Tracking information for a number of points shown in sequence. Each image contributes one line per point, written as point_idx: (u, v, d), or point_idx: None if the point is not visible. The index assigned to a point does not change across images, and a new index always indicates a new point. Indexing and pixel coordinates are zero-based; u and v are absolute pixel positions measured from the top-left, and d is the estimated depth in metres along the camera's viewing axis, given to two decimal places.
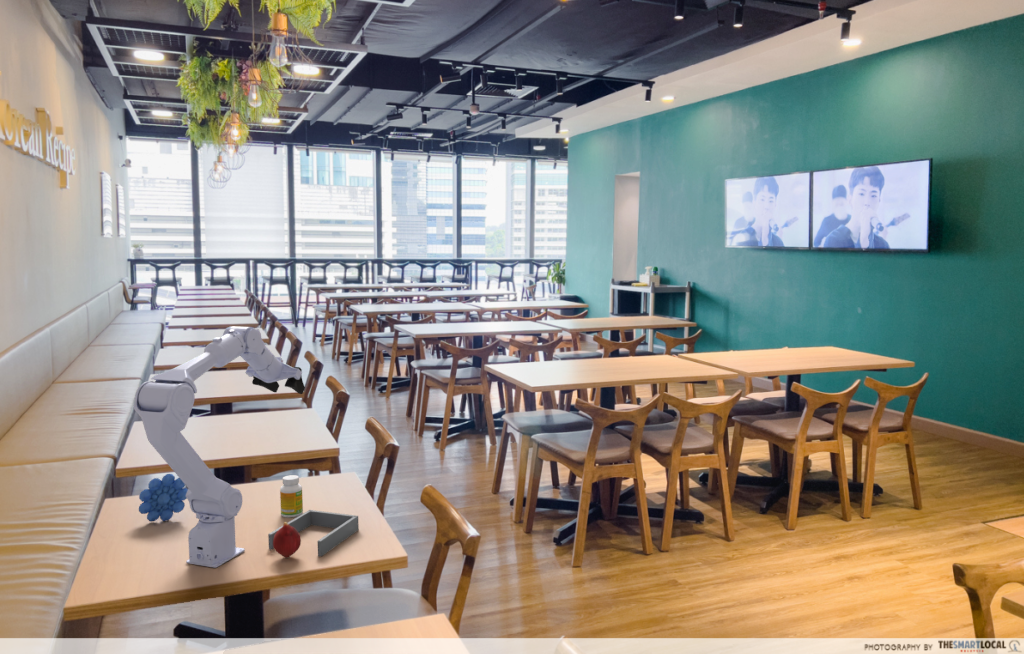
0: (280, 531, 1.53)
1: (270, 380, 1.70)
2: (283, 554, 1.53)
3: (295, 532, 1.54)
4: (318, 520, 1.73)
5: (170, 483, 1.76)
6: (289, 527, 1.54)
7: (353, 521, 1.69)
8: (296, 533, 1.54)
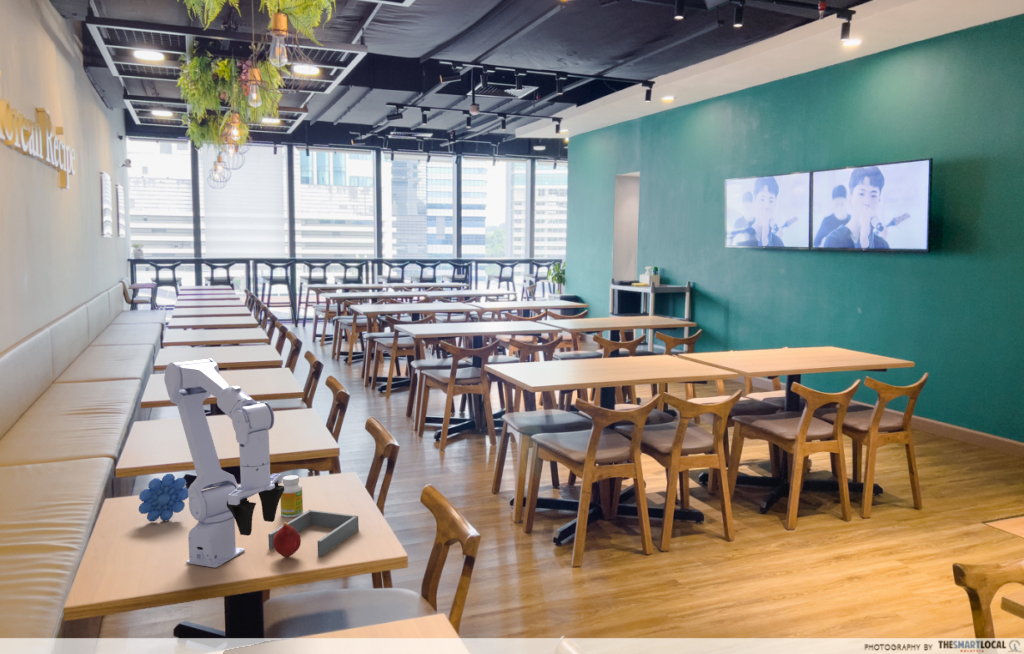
0: (280, 531, 1.53)
1: None
2: (283, 554, 1.53)
3: (295, 532, 1.54)
4: (318, 520, 1.73)
5: (170, 483, 1.76)
6: (289, 527, 1.54)
7: (353, 521, 1.69)
8: (296, 533, 1.54)
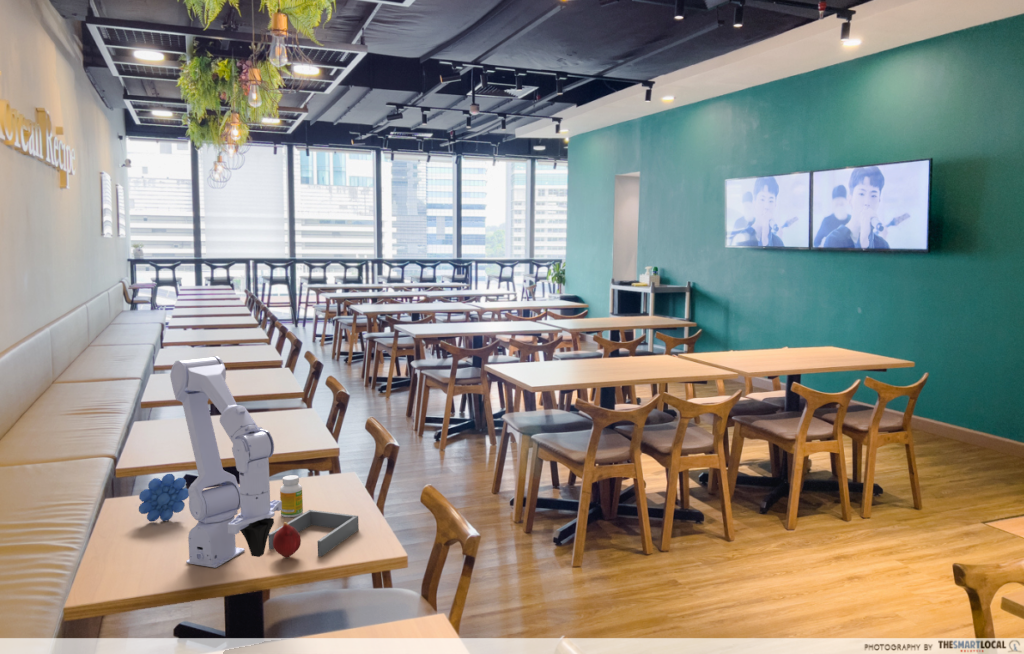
0: (280, 531, 1.53)
1: None
2: (283, 554, 1.53)
3: (295, 532, 1.54)
4: (318, 520, 1.73)
5: (170, 483, 1.76)
6: (289, 527, 1.54)
7: (353, 521, 1.69)
8: (296, 533, 1.54)
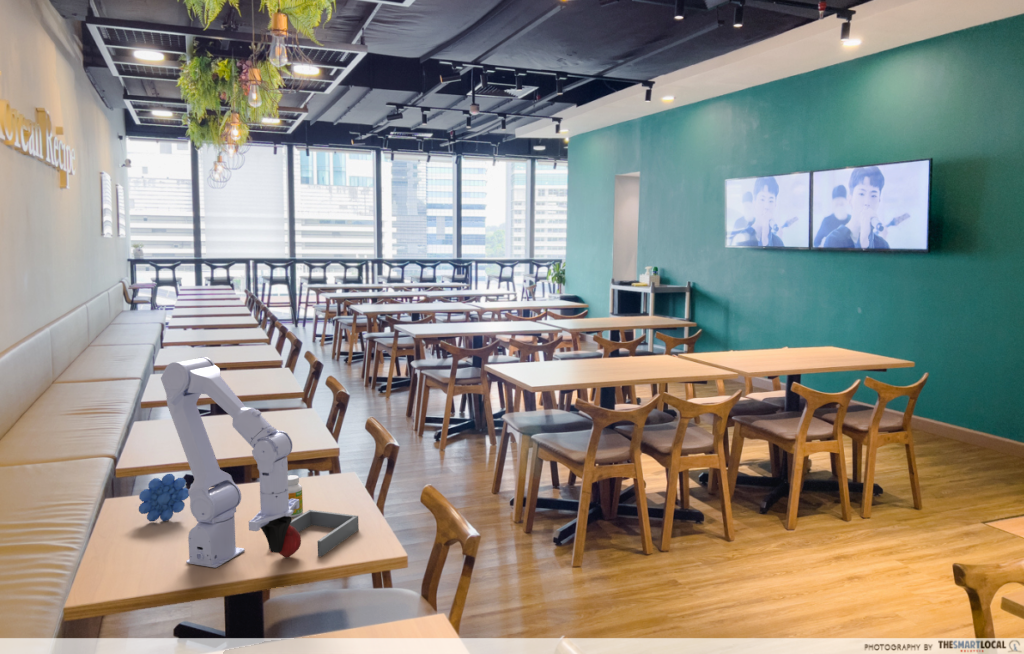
0: None
1: None
2: (283, 554, 1.53)
3: (295, 532, 1.54)
4: (318, 520, 1.73)
5: (170, 483, 1.76)
6: (289, 527, 1.54)
7: (353, 521, 1.69)
8: (296, 533, 1.55)
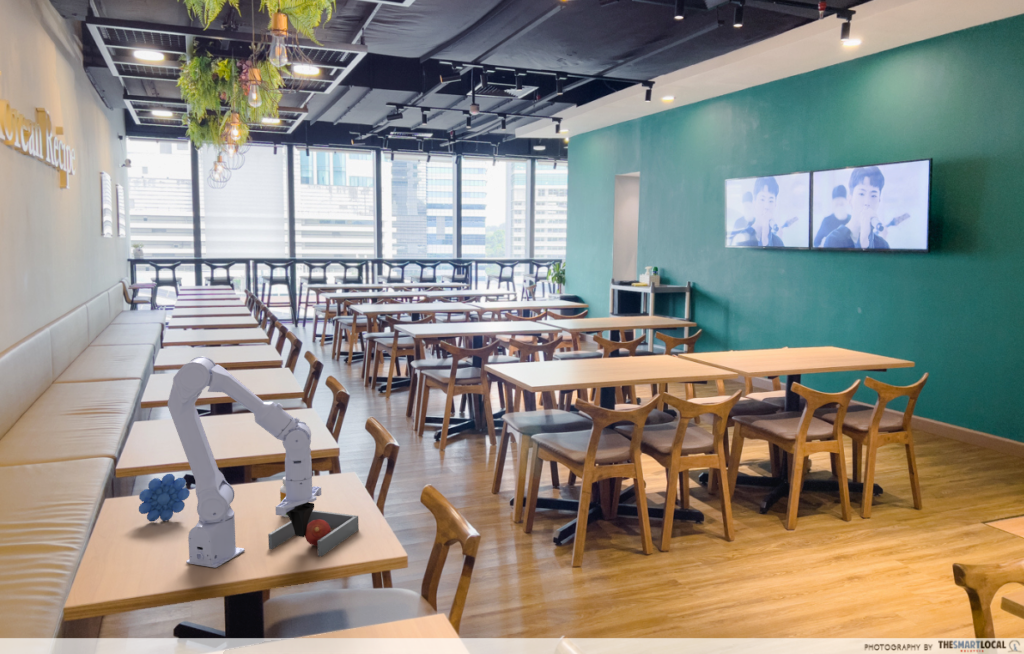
0: None
1: None
2: (326, 526, 1.60)
3: None
4: None
5: (170, 483, 1.76)
6: None
7: (353, 521, 1.69)
8: None
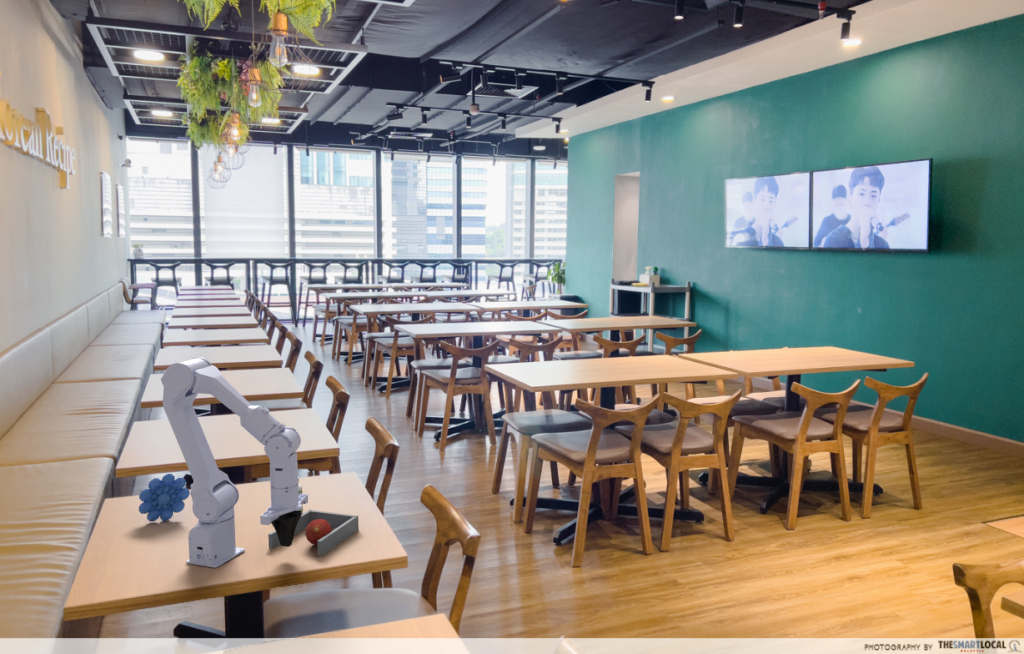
0: None
1: None
2: (326, 526, 1.60)
3: None
4: None
5: (170, 483, 1.76)
6: None
7: (353, 521, 1.69)
8: None
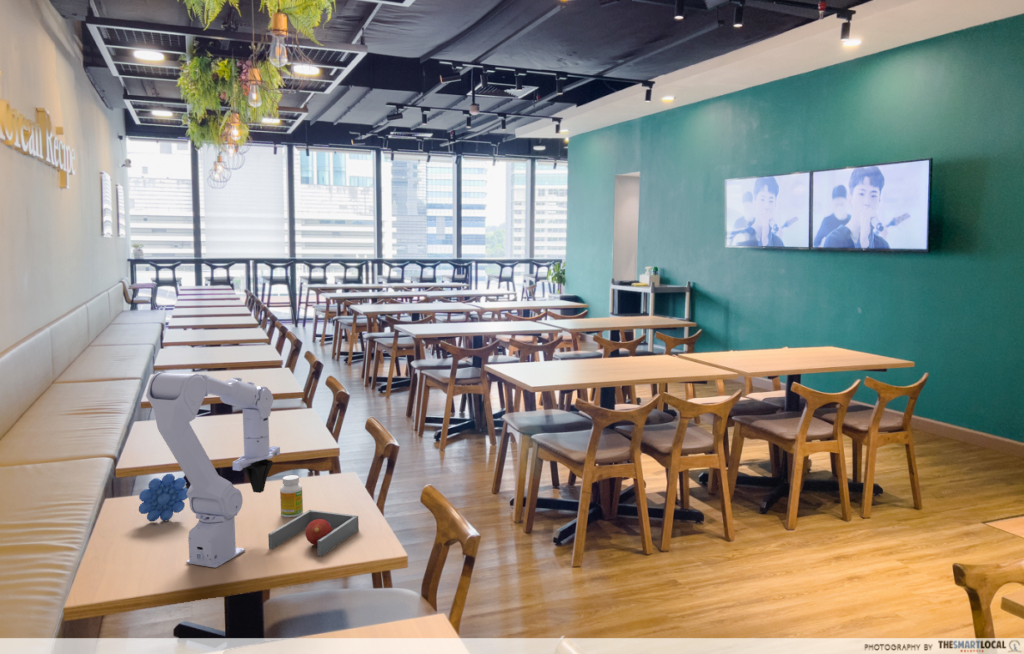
0: None
1: None
2: (326, 526, 1.60)
3: None
4: None
5: (170, 483, 1.76)
6: None
7: (353, 521, 1.69)
8: None
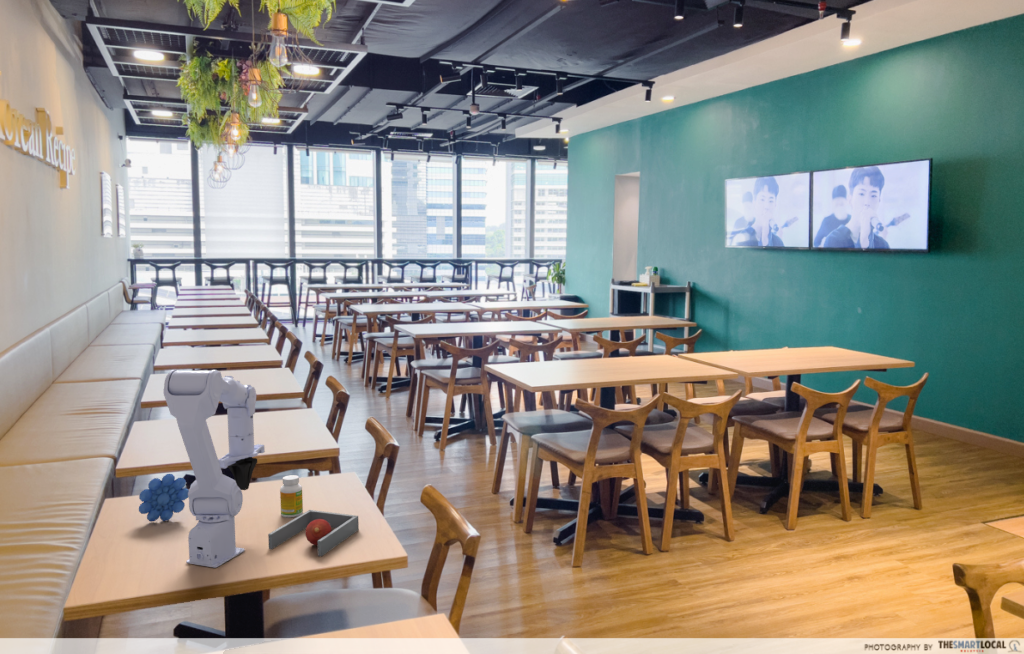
0: None
1: None
2: (326, 526, 1.60)
3: None
4: None
5: (170, 483, 1.76)
6: None
7: (353, 521, 1.69)
8: None
